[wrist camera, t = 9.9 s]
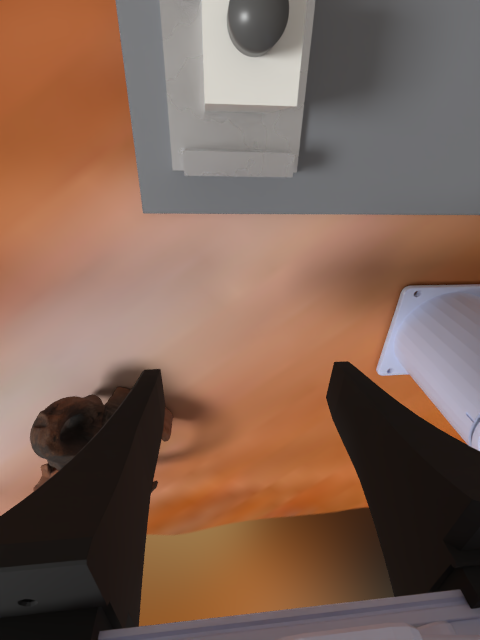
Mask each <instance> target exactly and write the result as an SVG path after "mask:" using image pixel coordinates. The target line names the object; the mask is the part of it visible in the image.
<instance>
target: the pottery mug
mask: <svg viewBox="0 0 480 640" xmlns="http://www.w3.org/2000/svg"><path fill="white" fill-rule="evenodd" d="M130 391H131V390H130V389H127V388H123V387H117V388H116V390H115V391H114V393H113V395H112V397H110V398H109V400H108V402H107V403H106V404H105V405H103V403H102V401H101V399H100V398H99V397H98V396H96V395H89V396H87V397H84V398H81V397H75V396H73V397H66V398H63V399H60V400H58V401H56V402H54V403H52V404H51V405H50V406H48V407H47V408H46V409H45V410H43V411H41V412H40V413H39V415H38V416H37V418H36V420H35V422H34V424H33V426H32V429H31V433H30V441H31V444H32V448H33V450H34V452H35V453H36V454H37V455H38V456H40V457H42V458H45V459H47V461H48V464H44V465H42V466H41V470H42V477H41V479H40V481H39V483H38V484H37V485H36V486H35V487H34V489H33V490H34V491H35V490H37V489H38V488H39V487H40V486H41V485H43V484H44V483H45V482H46V481H47V480H49V479H50V478H51V477H52V476H53V475H55V474H56V473H57V472H58V471H59V470H60V469H62V468H63V467H64V466H65V465H66V464H67V463H68V462H69V461H70V460H71V459H72V458H73V457H74V456H75V455H76V454H78V453H79V452H80V451H81V450H82V449H83V448H84V447H85V446H86V445H87V443H88V442H89V441H90V440H91V439H92V438H93V437H94V436H95V435H96V434H97V433H98V432H99V430H100V429H101V428H102V427H103V426H104V425H105V423H106V422H107V421H108V420H109V419H110V417H111V416H112V415H113V414H114V412H115V411H116V410H117V409H118V407H119V406H120V404H121V403H122V402H123V400H124V399H125V398H126V396H127V395H128V393H129V392H130ZM172 419H173V415H172V413H171V412H170V411H169V410H168V409H167V408H165V417H164V428H163V434H162V440H163V441H168V440H169V438H170V435H171V428H172ZM157 484H158V482H157V481H154V482H153V483H152V489H151V493H152V491H153V490H154V489H155V488H156V487H157Z"/></svg>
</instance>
